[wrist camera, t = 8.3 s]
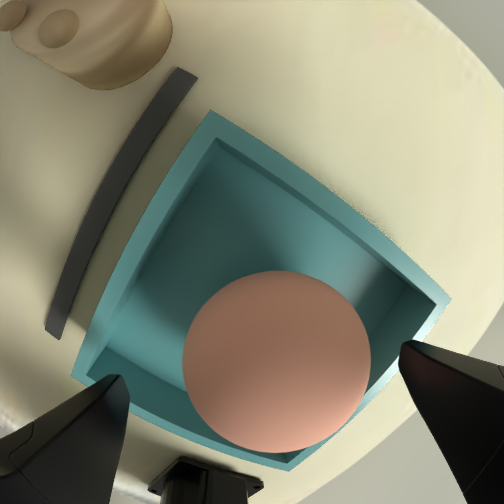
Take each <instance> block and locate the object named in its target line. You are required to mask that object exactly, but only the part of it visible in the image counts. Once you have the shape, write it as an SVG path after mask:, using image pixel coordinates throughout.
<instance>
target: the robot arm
mask: <svg viewBox="0 0 504 504" xmlns="http://www.w3.org/2000/svg"><path fill="white" fill-rule="evenodd" d="M398 368H399V371H400V373H401V375H402V377H403V379H404V382H405V384H406V386H407V388H408V391H409V393H410V395H411V397H412V399H413V402H414V403H415V405H416V407H417V409H418V411H419V412H420V414H421V416H422V418H423V419H424V421H425V423H426V425H427V426H428V428H429V430H430V432H431V433H432V435H433V437H434V439H435V441H436V443H437V444H438V446H439V448H440V450H441V452H442V454H443V456H444V457H445V459H446V461H447V463H448V465H449V467H450V469H451V471H452V473H453V475H454V477H455V479H456V481H457V483H458V485H459V487H460V489H461V491H462V493H463V495H464V497H465V500H466V502H467V504H504V366H501V365H497V364H494V363H490V362H487V361H483V360H480V359H476V358H473V357H469V356H466V355H463V354H459V353H456V352H453V351H449V350H446V349H443V348H440V347H436V346H433V345H430V344H427V343H424V342H420V341H417V340H414V339H412V340H408V341H405V342H403V343H402V345H401V349H400V354H399V359H398ZM129 405H130V393H129V391H128V388H127V386H126V383H125V381H124V378H123V376H122V375H120V374H108V375H107V376H105V377H103V378H102V379H100V380H99V381H97V382H96V383H94V384H92V385H91V386H89V387H88V388H86V389H84V390H83V391H81V392H80V393H78V394H76V395H75V396H73V397H72V398H70V399H68V400H67V401H65V402H64V403H62V404H60V405H59V406H57V407H55V408H54V409H52V410H50V411H49V412H47V413H46V414H44V415H42V416H41V417H39V418H37V419H36V420H34V422H33V421H32V422H31V423H29V424H27V425H26V426H24V427H22V428H20V429H18V430H17V431H15V432H13V433H11V434H9V435H7V436H5V437H3V438H1V439H0V504H109V502H110V497H111V492H112V488H113V483H114V479H115V474H116V470H117V466H118V462H119V458H120V454H121V450H122V446H123V442H124V438H125V432H126V425H127V418H128V411H129ZM263 488H264V483H263V481H261V480H257V479H253V478H249V477H245V476H241V475H238V474H234V473H231V472H227V471H224V470H221V469H218V468H215V467H212V466H209V465H206V464H203V463H200V462H197V461H194V460H192V459H189V458H186V457H179V458H178V459H177V460H175V461H174V462H173V463H172V464H171V465H170V466H169V467H168V468H167V469H166V470H165V471H164V472H163V473H162V474H160V475H159V476H158V477H157V478H156V479H155V480H154V481H153V482H151V483H150V484H149V485H148V491H149V492H151V493H153V494H156V495H159V496H161V501H160V504H248V498H249V497H250V496H252V495H253V494H255V493H257V492H258V491H260V490H261V489H263Z"/></svg>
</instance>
